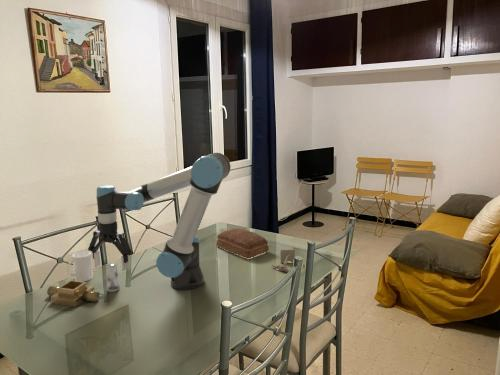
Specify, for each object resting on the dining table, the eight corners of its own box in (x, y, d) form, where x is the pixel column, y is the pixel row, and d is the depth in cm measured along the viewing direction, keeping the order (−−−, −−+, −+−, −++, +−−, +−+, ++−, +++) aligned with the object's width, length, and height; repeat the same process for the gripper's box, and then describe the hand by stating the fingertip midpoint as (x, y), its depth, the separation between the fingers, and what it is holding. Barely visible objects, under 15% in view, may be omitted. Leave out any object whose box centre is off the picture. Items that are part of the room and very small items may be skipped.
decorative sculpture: (287, 274, 187) (288, 260, 185) (268, 271, 190) (268, 257, 189) (295, 262, 202) (295, 249, 200) (277, 259, 205) (278, 246, 203)
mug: (72, 285, 175) (69, 261, 173) (64, 280, 181) (61, 256, 178) (96, 277, 184) (94, 253, 181) (88, 272, 189) (86, 249, 187)
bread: (236, 240, 235) (236, 222, 233) (270, 253, 214) (270, 234, 211) (214, 247, 224) (214, 228, 222) (247, 261, 203) (247, 241, 200)
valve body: (105, 294, 166) (104, 282, 165) (87, 308, 155) (86, 294, 154) (61, 288, 172) (59, 276, 171) (40, 301, 161) (38, 288, 160)
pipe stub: (122, 287, 173) (120, 262, 170) (115, 293, 168) (113, 267, 166) (111, 286, 174) (109, 261, 172) (104, 291, 169) (102, 266, 167)
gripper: (138, 221, 165) (140, 267, 169) (88, 216, 171) (92, 261, 176) (128, 226, 158) (131, 274, 162) (77, 221, 164) (81, 267, 169)
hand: (110, 267), depth 169 cm, fingers open, 13 cm apart
